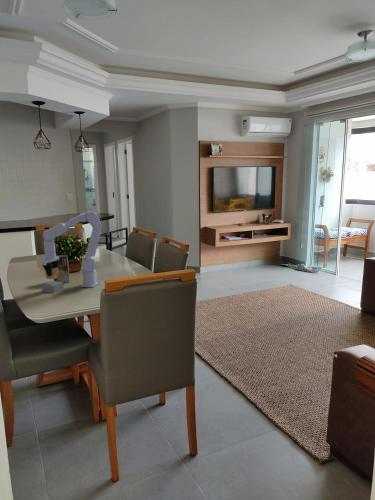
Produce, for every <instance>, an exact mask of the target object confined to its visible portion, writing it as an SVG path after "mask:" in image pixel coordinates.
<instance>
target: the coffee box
mask: <svg viewBox="0 0 375 500" xmlns="http://www.w3.org/2000/svg"><path fill="white" fill-rule="evenodd" d="M58 256H59V260H57V261H60V263H59V265H58V273H59V277H57V278H55V279H53V281H54V282H63V283H70V281H71V280H70V270H69V261H68V254H66V255H65V254H63V255H58Z"/></svg>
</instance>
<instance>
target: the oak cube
mask: <svg viewBox="0 0 375 500" xmlns="http://www.w3.org/2000/svg"><path fill="white" fill-rule="evenodd" d="M44 271H45V270H44ZM57 277H59V273H58V268H52V276H47V273H46V271H45V279H49V280H50V279H53V280H54V279H55V278H57Z"/></svg>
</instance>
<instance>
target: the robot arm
mask: <svg viewBox="0 0 375 500" xmlns="http://www.w3.org/2000/svg"><path fill="white" fill-rule="evenodd" d="M80 222H81V223H86V222H88V223H89V225H90V226H91V228H92V231H91V234H90V238H89V242H88V245H87V250H86V254H85V256H84V259H82V261H81V266H82V268H83V269H82V270H81V272H82V275H81V276H82V284H81V285H80V287H81V288H93V287H94V288H95V286H97V285H99V284H100V281H98V272H97V270H96V269H95V268H96V266H95V265H96V264H95V261H96V258H95V256H96V252H97V248H98V244H99V240H100V237H101V233H102V229H103V225H102V223H101V220H100V217H99V216H98V214H97V213H96V212H95V211H92V210H86V211H85V212H82V213H79V214H77V215H76V216H74V217H73V218H71V219H69V220H67V221H66V222H60V223H59V222H57V223H56V225H54V226H52V227H48V229H46V230H44V231H43V232H42V233H43V234H42V238H43V247H44V248H43V249H44V257H45V258H43V260H42V262H41V265H42V268H43V270H44V271H46V273H47V276H52V268H58V265H59V263H60V261H57V260H59V256H60V255H57V253H56V251H57V250H56V243H55V237H56V238H57V237H59V236H60V235H61V236H62V234H64V233H66V232H67V231H68V229H69V228H71V227H73V226H75V225H77V224H79V223H80ZM46 273H45V274H46Z"/></svg>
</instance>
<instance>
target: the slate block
mask: <svg viewBox="0 0 375 500" xmlns="http://www.w3.org/2000/svg"><path fill="white" fill-rule="evenodd" d="M41 286H42V287H41V289H42V292H45V293H53V294H54V293H57V292H59V291H61V290H63V289H65V288H64V282H54V280H53V281H49V282H46V283H43V284H42V285H41Z"/></svg>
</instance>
